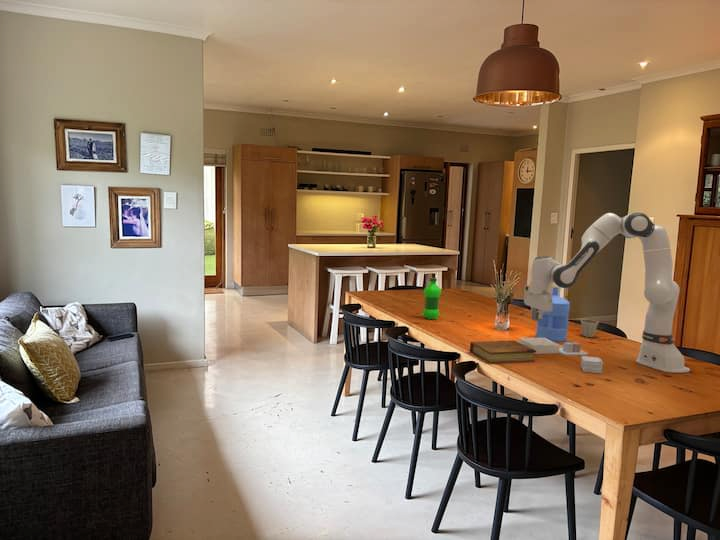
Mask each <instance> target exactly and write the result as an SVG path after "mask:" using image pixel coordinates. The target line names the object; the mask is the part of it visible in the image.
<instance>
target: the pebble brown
mask: <svg viewBox="0 0 720 540" xmlns="http://www.w3.org/2000/svg"><path fill="white" fill-rule="evenodd" d="M569 342H570V343H572V344H574V346H573V352H580V350H581V343H579V342H577V341H569Z"/></svg>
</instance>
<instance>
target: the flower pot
mask: <svg viewBox="0 0 720 540" xmlns="http://www.w3.org/2000/svg"><path fill="white" fill-rule="evenodd" d="M599 323H600V321H597V320H593V319H587V318H585V319H580V324H581V335H583V336H582V337H584V336H585V337H584V338H589V337H590V338H592V337H593V338H595V335H596V332H597V327H598V325H599Z"/></svg>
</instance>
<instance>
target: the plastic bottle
mask: <svg viewBox="0 0 720 540" xmlns="http://www.w3.org/2000/svg"><path fill="white" fill-rule="evenodd" d="M437 281H438V278H436V277H430V278H429V282H430V283H429V284H428V285H427V286H426V287H424V289H423V296H425V302H424V303H425V304H424V308H423V311H422V314H423V316H424V317H425V318H428V319H427V320H430V319H434V320H435V319H437V318H438V317H439V316H440V311H439V310H440V309H439V298H440V296H441V295H442V289H441V288H440V287H439V286H438V284H437Z"/></svg>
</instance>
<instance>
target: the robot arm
mask: <svg viewBox="0 0 720 540" xmlns="http://www.w3.org/2000/svg"><path fill="white" fill-rule="evenodd" d="M617 235H619V236H621V237H624V238H627V239H635V238H638V239H639V240H640V241H641V245H642V253H643V260H644V293H643V294H644V295H643V296H644V298H645V299H646V301H648V302H649V305H648V307H647V308H648V309H647V311H646V313H645V320H644V328H643V329H644V330H642V334H641V336H642V337H641V338H642V342H641V344H640V347H639V350H638V351H639V352H638V354H637V355H638V356H637V358H636V360H635V362H636V363H637V364H640V365H642V366H646V367H649V368H652V369H655V370H658V371H661V372H665V373H675V374H676V373H677V374H678V373H679V374H680V373H683V374H684V373H690V372H691V369H690V368H689V367H687V366H685V356H684V355H683V354H682V353H681V352H680V350H679V349H678V348H677V347H676V345H675V342H676V341H677V339H676V337H673V334H672V331H673V324H674V316H675V313H676V309H677V304H678V299H679V295H680V290H681V289H680V286H679V284H678V283H677V282H676V281H674V280H673V267H674V266H673V265H674V264H673V257H672V249H671V244H670V243H671V242H670V238H669V236H668V232H667V229H666V228H665V227H663V226H661V225H655V224H654V222H653V221H652V220H651V218H650V217H649V216H648V215H647V214H645V213H643V212H632V213H629V214H627V215H625V216H623V217H620V216H618V215H617V214H616V213H613V212H607V213H605V214H603V215H602V216H600V217H599V218H598V219H597V220H595V221H594V222H593V223H592V224H591V225H590V226H589V227H588V228H587V229H586V230H585V232H584V233H583V235H581V248H580V250H579V251H578V252H577V253H576V254H575V256H573V258H572V259H571V260H570V261H569V262H567V264H563V263H560V262H558V261H556V260H554V259H553V258H552V257H551V256H550V255H549V256H547V255H541V256H537V257H534V259H533V260H532V261H533V262H532V264H531V271H530V272H531V273H530V276H531V279H530V282H529V283H530V284H527V285H525V286H524V294H523V295H524V297H523V303H524V305H526V306H529V307H530V310H531V312H532V311H538V310H539V314H538V315H537V318H538V319H542V315H543V314H544V312H551V311H552V308H553V300H552V297H551V295H552V294H551V292H549V291H550V284H551V283H554V284H555V285H556V286H557V287H558V288H561V289H568V288H571V287H572V286H574V285H575V283H576V282H577V280H578V277H579V275H580V273H581V272H582V270H583V269H584V268H585V267H586V266H588V264H589V262H590V261H591V260H592V259H593V258H594V257H595V255H597V254H598V253H599V252H600V251H601V250H602V249H603V248H605V246H607V244H608V243H610V242H611V240H613V239H614V237H616V236H617Z"/></svg>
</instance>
